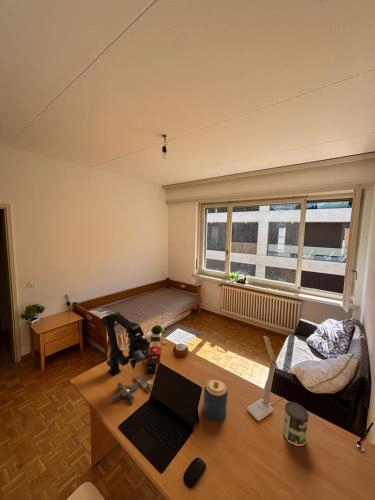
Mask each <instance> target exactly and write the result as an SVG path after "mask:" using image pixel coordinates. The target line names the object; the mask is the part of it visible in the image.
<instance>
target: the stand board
mask: <svg viewBox="0 0 375 500" xmlns="http://www.w3.org/2000/svg"><path fill="white" fill-rule="evenodd" d="M133 381H134V382H135V383H138V386H139V387H141V388H142V389H143V390H144V392H146V393H147V394H150V393H151V392H152V391H151V389H152V386H153V384H154V383H153V382H152V381H151V380H150V379H149V378H148V377H147V376H146V377H145V374H143V373H142V372H140V373H138V374H137V375H135V376H133Z"/></svg>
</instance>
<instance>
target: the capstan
mask: <svg viewBox="0 0 375 500" xmlns="http://www.w3.org/2000/svg"><path fill="white" fill-rule="evenodd" d="M116 387H117V389H118V390H119V392H118V393H116V394H115V395H113V396H111V398H110V399H111V402H112V403H115V402H116V401H119V400H120V399H122V400H126V399H127V400H128V401H129V402H130V403H131V404H132V403H135V397H134V396H133V394H132V393H131V392H133V391H135V390H137V389H138V388H139V384H138V383H137V382H135V383H134V384H132V385H131V386H129V385H123V384H122V383H121V382H118V383H117V384H116Z"/></svg>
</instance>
